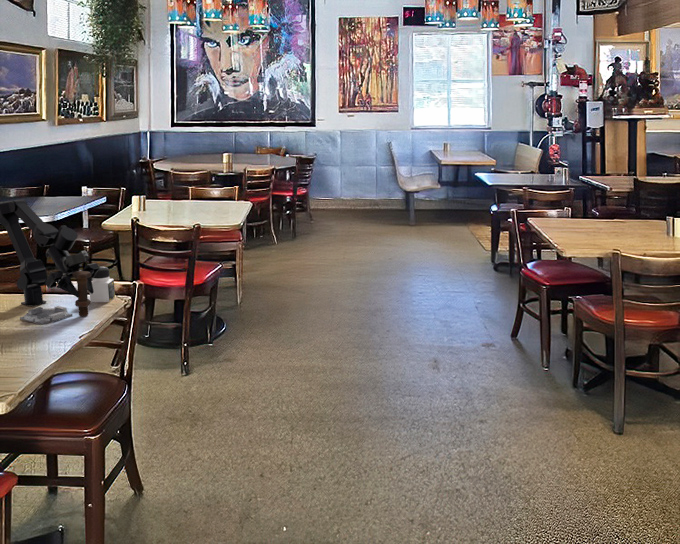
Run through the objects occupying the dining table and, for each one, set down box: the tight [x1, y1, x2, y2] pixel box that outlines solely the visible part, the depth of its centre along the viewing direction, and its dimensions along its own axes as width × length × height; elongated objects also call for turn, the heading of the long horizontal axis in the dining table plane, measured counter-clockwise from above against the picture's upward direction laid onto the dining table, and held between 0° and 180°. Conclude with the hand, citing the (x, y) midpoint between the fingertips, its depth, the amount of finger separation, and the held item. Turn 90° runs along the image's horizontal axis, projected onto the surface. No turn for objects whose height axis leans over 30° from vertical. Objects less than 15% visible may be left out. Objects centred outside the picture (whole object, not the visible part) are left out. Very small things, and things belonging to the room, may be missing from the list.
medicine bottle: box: [89, 266, 116, 303], centre depth 292 cm, size 7×7×12 cm
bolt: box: [72, 271, 92, 317], centre depth 272 cm, size 6×5×15 cm
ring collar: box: [19, 305, 73, 326], centre depth 272 cm, size 13×13×2 cm
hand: (85, 294), depth 271 cm, fingers open, 5 cm apart
